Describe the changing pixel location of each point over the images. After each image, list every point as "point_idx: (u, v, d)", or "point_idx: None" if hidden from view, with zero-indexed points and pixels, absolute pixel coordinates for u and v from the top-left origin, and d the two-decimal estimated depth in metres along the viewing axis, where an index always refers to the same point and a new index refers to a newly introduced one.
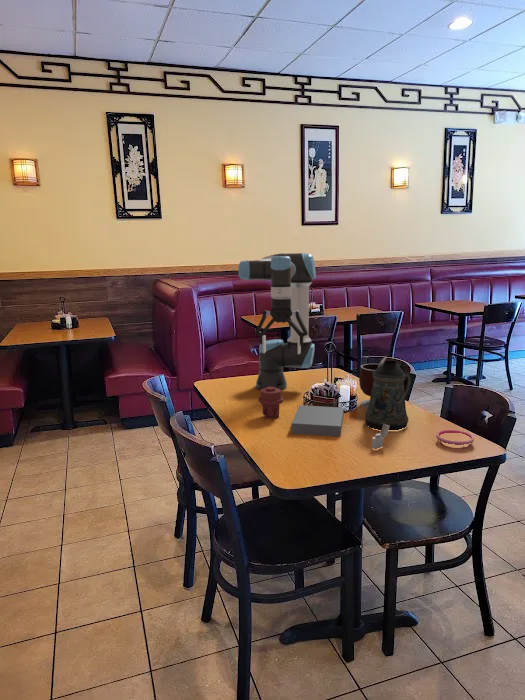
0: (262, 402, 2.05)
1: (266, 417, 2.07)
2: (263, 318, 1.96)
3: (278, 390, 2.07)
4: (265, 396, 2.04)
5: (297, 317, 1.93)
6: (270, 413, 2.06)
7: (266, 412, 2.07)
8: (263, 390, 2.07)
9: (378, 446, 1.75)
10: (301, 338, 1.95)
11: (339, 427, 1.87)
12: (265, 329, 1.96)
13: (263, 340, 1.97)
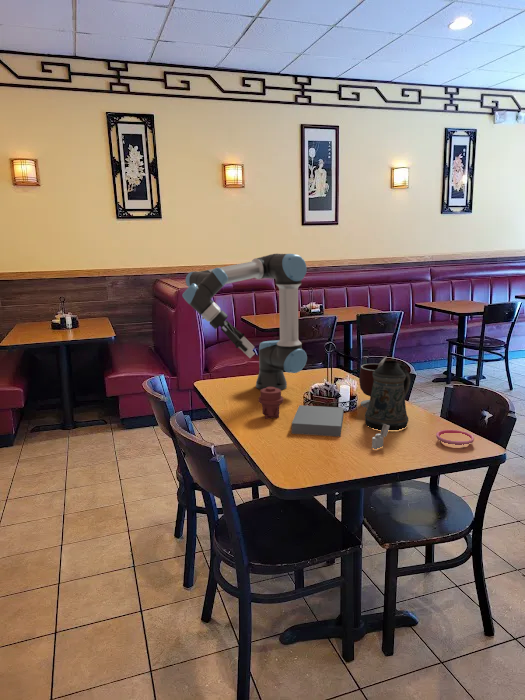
0: (262, 402, 2.05)
1: (266, 417, 2.07)
2: None
3: (278, 390, 2.07)
4: (265, 396, 2.04)
5: None
6: (270, 413, 2.06)
7: (266, 412, 2.07)
8: (263, 390, 2.07)
9: (378, 446, 1.75)
10: (240, 347, 2.02)
11: (339, 427, 1.87)
12: None
13: None
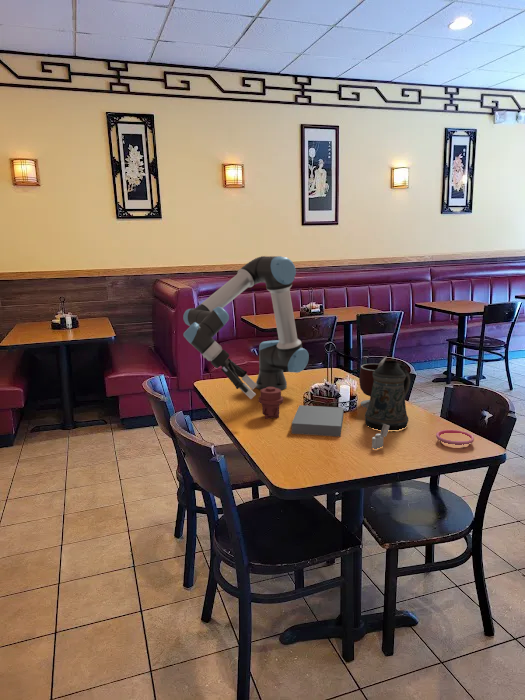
0: (262, 402, 2.05)
1: (266, 417, 2.07)
2: None
3: (278, 390, 2.07)
4: (265, 396, 2.04)
5: None
6: (270, 413, 2.06)
7: (266, 412, 2.07)
8: (263, 390, 2.07)
9: (378, 446, 1.75)
10: None
11: (339, 427, 1.87)
12: None
13: (244, 381, 2.13)
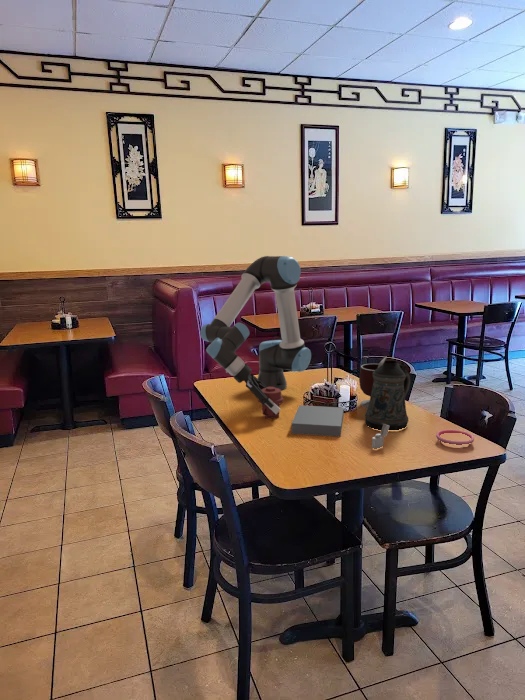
0: None
1: (266, 417, 2.07)
2: None
3: (278, 390, 2.07)
4: None
5: None
6: (270, 413, 2.06)
7: (266, 412, 2.07)
8: (263, 390, 2.07)
9: (378, 446, 1.75)
10: None
11: (339, 427, 1.87)
12: None
13: None
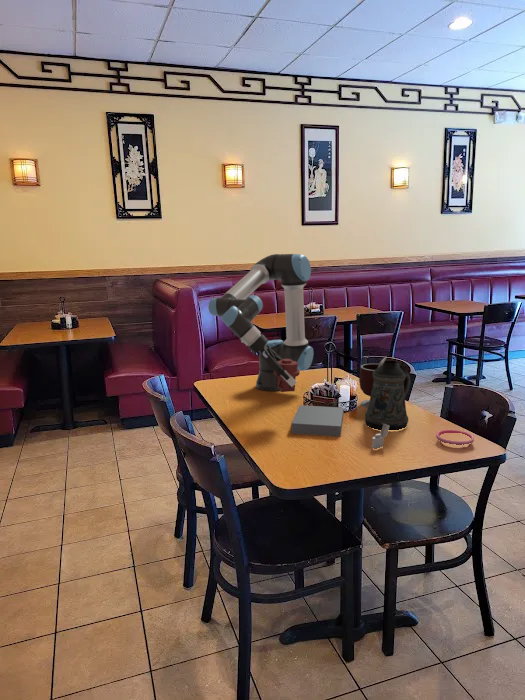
0: None
1: (281, 390, 1.99)
2: None
3: (294, 362, 1.98)
4: None
5: (265, 359, 1.93)
6: (285, 386, 1.97)
7: (281, 385, 1.99)
8: (279, 362, 1.99)
9: (378, 446, 1.75)
10: None
11: (339, 427, 1.87)
12: None
13: None
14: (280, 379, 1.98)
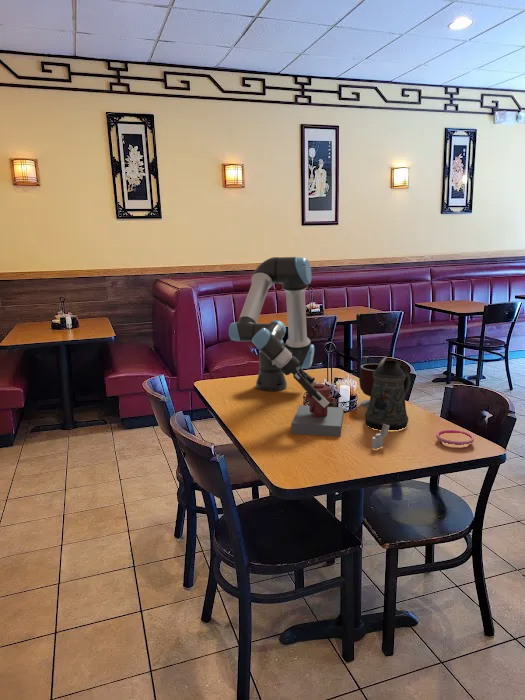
0: (310, 399, 1.94)
1: (314, 415, 1.96)
2: None
3: (327, 387, 1.96)
4: None
5: None
6: (318, 411, 1.95)
7: (314, 410, 1.97)
8: None
9: (378, 446, 1.75)
10: (314, 396, 1.89)
11: (339, 427, 1.87)
12: None
13: None
14: (313, 404, 1.95)
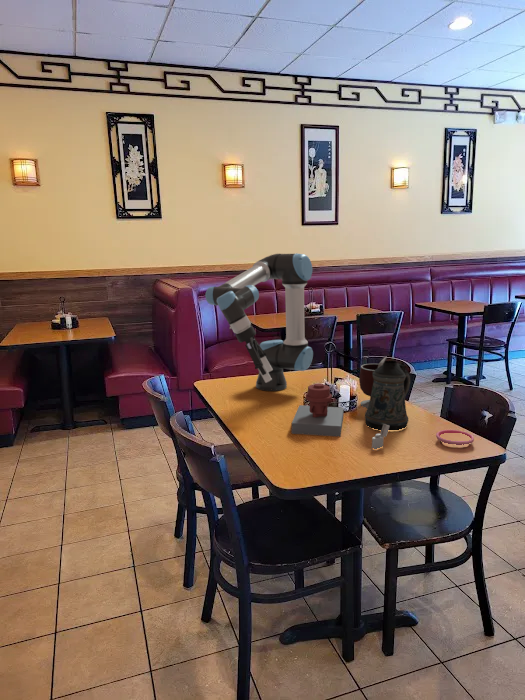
0: (310, 399, 1.94)
1: (314, 415, 1.96)
2: None
3: (327, 387, 1.96)
4: (313, 393, 1.94)
5: (248, 350, 1.94)
6: (318, 411, 1.95)
7: (314, 410, 1.97)
8: (311, 387, 1.96)
9: (378, 446, 1.75)
10: None
11: (339, 427, 1.87)
12: None
13: (261, 362, 2.09)
14: (313, 404, 1.95)
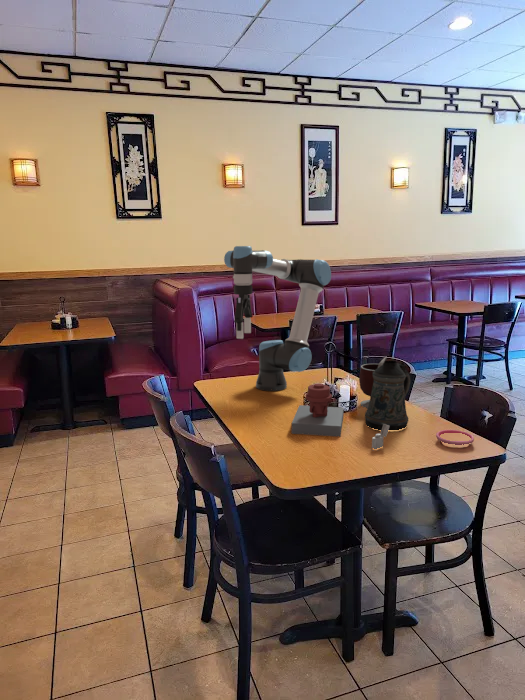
0: (310, 399, 1.94)
1: (314, 415, 1.96)
2: None
3: (327, 387, 1.96)
4: (313, 393, 1.94)
5: None
6: (318, 411, 1.95)
7: (314, 410, 1.97)
8: (311, 387, 1.96)
9: (378, 446, 1.75)
10: None
11: (339, 427, 1.87)
12: None
13: None
14: (313, 404, 1.95)
